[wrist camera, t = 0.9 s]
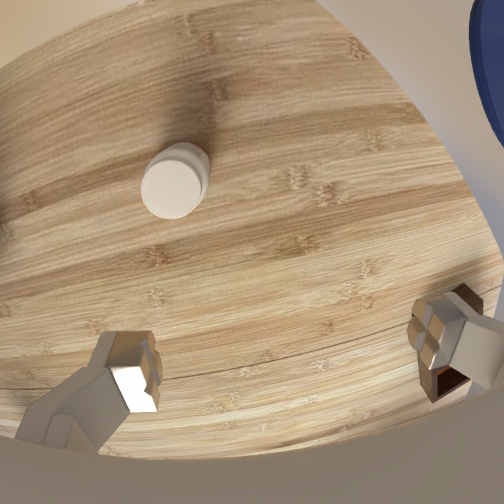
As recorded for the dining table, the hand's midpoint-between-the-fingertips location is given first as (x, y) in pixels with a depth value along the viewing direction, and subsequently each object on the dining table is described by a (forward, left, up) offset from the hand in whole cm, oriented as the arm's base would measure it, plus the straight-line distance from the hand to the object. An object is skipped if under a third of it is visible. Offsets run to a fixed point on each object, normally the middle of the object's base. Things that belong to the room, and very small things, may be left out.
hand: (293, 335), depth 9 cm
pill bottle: (+4, -4, -21) cm, 22 cm away
